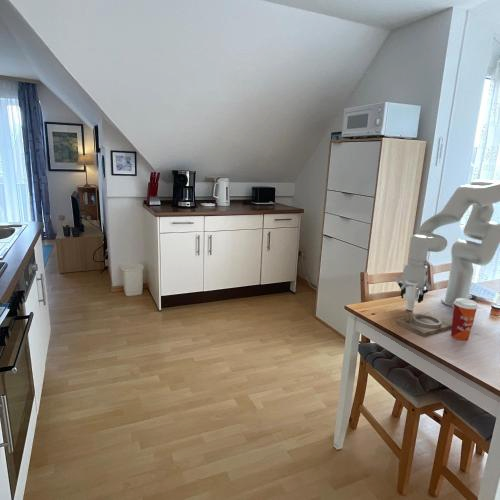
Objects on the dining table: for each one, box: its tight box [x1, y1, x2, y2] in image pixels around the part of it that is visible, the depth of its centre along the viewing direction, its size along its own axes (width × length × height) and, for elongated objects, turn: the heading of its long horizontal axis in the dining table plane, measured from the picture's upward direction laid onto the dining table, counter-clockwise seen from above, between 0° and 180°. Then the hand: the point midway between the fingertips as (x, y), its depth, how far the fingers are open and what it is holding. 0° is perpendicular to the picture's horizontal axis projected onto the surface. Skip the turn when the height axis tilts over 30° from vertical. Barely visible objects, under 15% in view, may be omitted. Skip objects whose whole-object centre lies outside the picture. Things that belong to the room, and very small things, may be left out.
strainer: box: [402, 281, 420, 311], centre depth 165 cm, size 7×7×15 cm
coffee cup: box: [450, 298, 479, 342], centre depth 141 cm, size 8×8×15 cm
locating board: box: [396, 311, 452, 337], centre depth 151 cm, size 20×13×6 cm, turn 118°
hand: (411, 299), depth 166 cm, fingers closed on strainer, 6 cm apart
